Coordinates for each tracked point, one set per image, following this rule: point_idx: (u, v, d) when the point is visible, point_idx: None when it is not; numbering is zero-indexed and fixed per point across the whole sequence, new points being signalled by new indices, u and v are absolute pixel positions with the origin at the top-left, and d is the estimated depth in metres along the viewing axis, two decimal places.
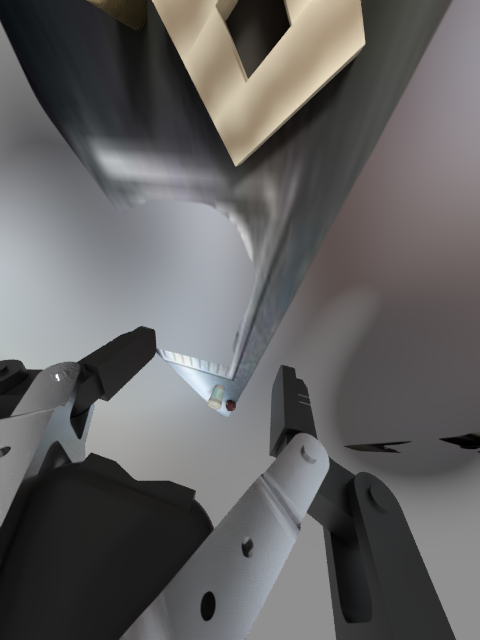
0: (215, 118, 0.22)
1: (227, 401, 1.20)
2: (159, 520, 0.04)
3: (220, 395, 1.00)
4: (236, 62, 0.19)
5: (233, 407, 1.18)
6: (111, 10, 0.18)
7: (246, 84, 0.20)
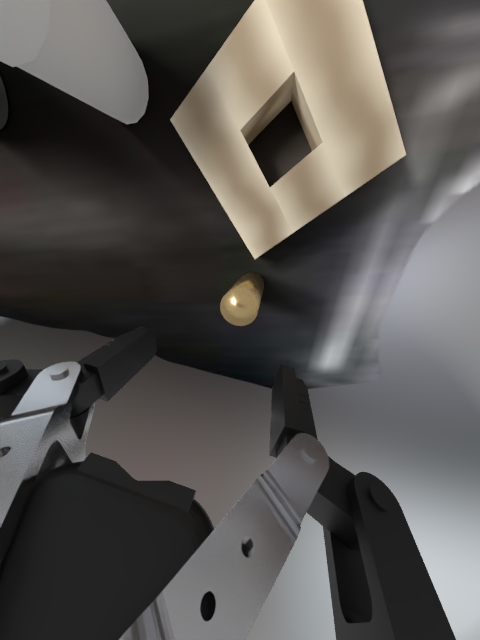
0: (341, 193, 0.17)
1: None
2: (159, 520, 0.04)
3: None
4: (304, 158, 0.16)
5: None
6: (261, 292, 0.22)
7: (324, 140, 0.16)
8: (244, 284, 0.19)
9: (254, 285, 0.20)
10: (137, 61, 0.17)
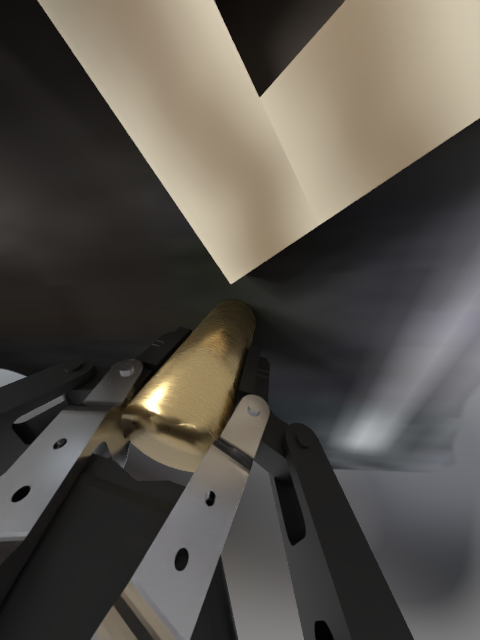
0: (478, 101, 0.06)
1: None
2: (159, 520, 0.04)
3: None
4: None
5: None
6: (246, 352, 0.10)
7: None
8: (195, 357, 0.07)
9: (225, 350, 0.08)
10: None
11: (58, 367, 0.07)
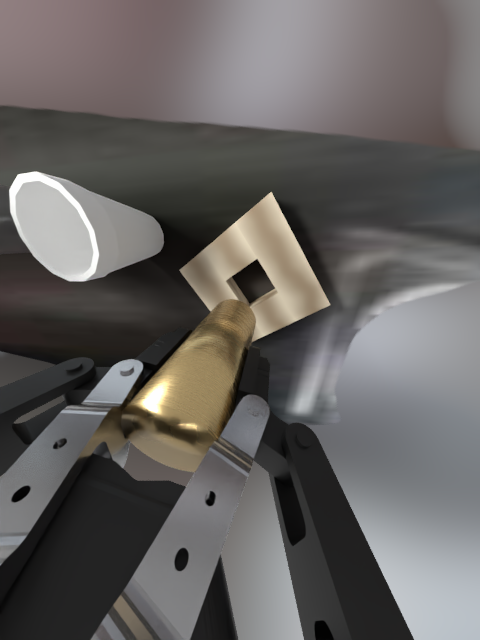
0: (293, 319, 0.25)
1: None
2: (159, 520, 0.04)
3: None
4: (267, 299, 0.25)
5: None
6: (246, 352, 0.10)
7: (279, 292, 0.24)
8: (195, 357, 0.07)
9: (225, 350, 0.08)
10: (157, 232, 0.26)
11: (58, 368, 0.07)
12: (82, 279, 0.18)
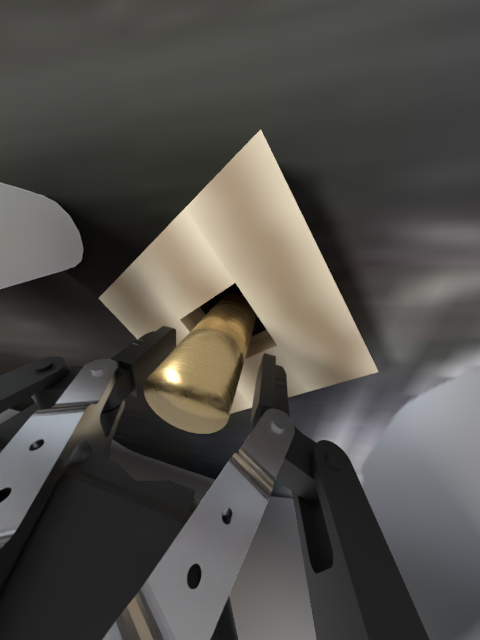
0: (304, 388, 0.14)
1: None
2: (159, 520, 0.04)
3: None
4: (258, 354, 0.13)
5: None
6: (248, 339, 0.11)
7: (278, 344, 0.13)
8: (204, 338, 0.09)
9: (230, 334, 0.10)
10: (59, 228, 0.14)
11: (23, 369, 0.06)
12: None
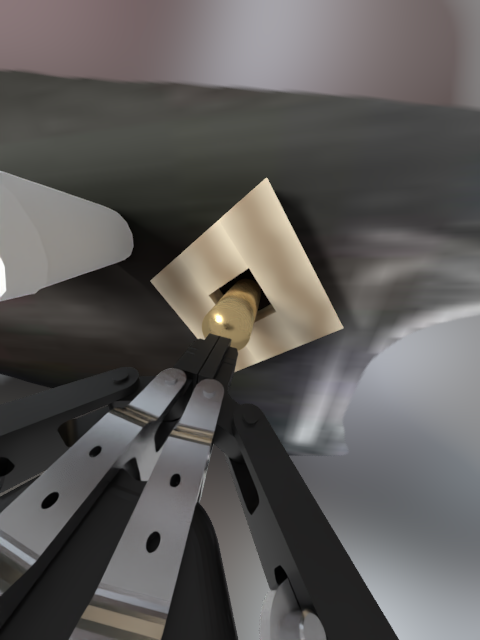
0: (295, 344, 0.20)
1: None
2: (159, 520, 0.04)
3: None
4: (263, 319, 0.19)
5: None
6: (257, 305, 0.17)
7: (277, 310, 0.19)
8: (233, 298, 0.14)
9: (247, 298, 0.16)
10: (122, 231, 0.20)
11: (109, 374, 0.07)
12: None
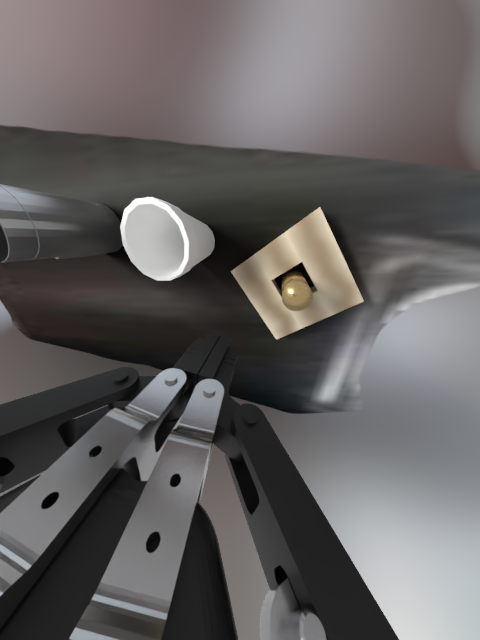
0: (329, 314, 0.29)
1: None
2: (159, 520, 0.04)
3: None
4: None
5: None
6: None
7: (318, 290, 0.28)
8: (298, 279, 0.24)
9: (304, 280, 0.25)
10: (212, 238, 0.30)
11: (109, 374, 0.07)
12: (168, 279, 0.23)
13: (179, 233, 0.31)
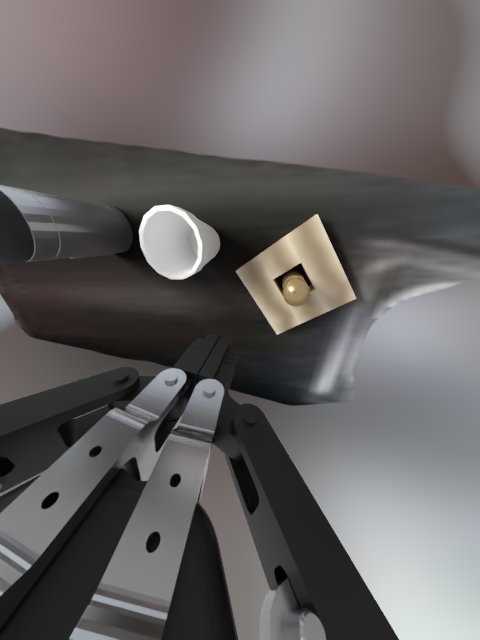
0: (325, 310, 0.32)
1: None
2: (159, 520, 0.04)
3: None
4: None
5: None
6: None
7: (315, 288, 0.31)
8: (298, 278, 0.27)
9: (303, 279, 0.28)
10: (218, 240, 0.32)
11: (109, 374, 0.07)
12: (182, 278, 0.25)
13: (187, 235, 0.33)
